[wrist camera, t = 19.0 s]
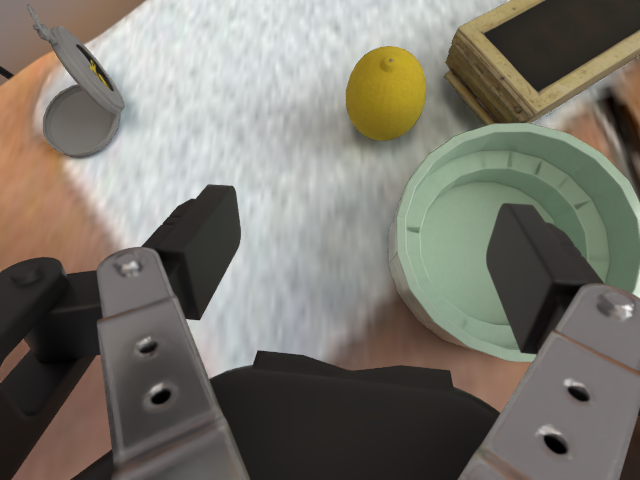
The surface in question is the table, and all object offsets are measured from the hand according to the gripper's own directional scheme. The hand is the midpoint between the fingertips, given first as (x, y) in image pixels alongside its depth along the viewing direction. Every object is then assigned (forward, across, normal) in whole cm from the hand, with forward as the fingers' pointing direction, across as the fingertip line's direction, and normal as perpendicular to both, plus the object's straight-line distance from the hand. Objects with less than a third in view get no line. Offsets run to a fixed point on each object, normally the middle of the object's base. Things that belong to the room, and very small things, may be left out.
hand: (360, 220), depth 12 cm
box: (+26, -16, -2) cm, 31 cm away
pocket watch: (+21, +23, +4) cm, 31 cm away
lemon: (+21, -1, +3) cm, 21 cm away
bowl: (+14, -9, +10) cm, 20 cm away
